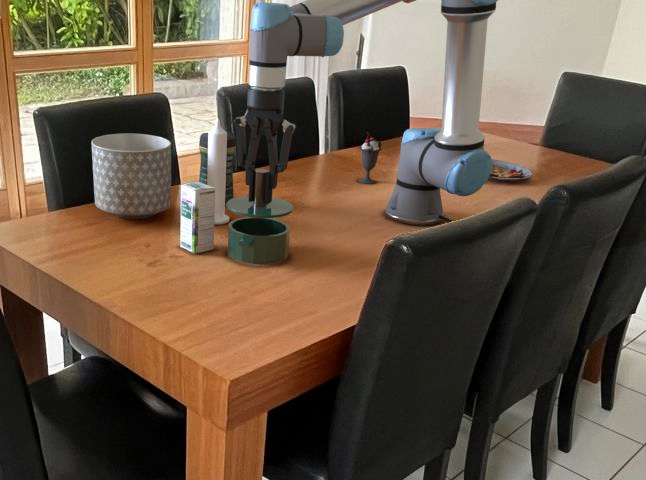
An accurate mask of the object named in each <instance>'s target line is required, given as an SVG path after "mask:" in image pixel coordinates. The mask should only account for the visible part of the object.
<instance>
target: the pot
mask: <svg viewBox="0 0 646 480" xmlns="http://www.w3.org/2000/svg"><path fill="white" fill-rule="evenodd" d="M227 225H228V227H227V256H228V257H230V258H231V259H233V260H235V261H238V262H241V263H244V264H250V265H271V264H278V263H281V262H283V261H285V260H286V259H287V258H288V257H289V249H290V235H291V228H290V225H289V224H287V223H286V222H284V221H281V220H279V219H278V218H253V217H247V216H244V217H239V218H237V219H233V220H231V221H229V222H228V223H227Z"/></svg>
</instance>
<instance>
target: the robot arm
mask: <svg viewBox="0 0 646 480" xmlns="http://www.w3.org/2000/svg"><path fill="white" fill-rule="evenodd" d="M416 1H417V0H303V1H301V2H300V3H296V4H293V5H291V6H290V5H289V4H288V3H280V2H264V1H263V2H262V1H261V2H256V3H255V4H254V5H253V6H252V9H251V16H250V17H251V18H250V26H249V30H250V31H249V33H250V35H249V60H248V61H249V63H248V78H247V84H248V86H249V87H248V89H247V98H246V99H247V100H246V101H247V103H246V106H247V107H246V111H245V113H244V115H243V116H237V117H235V118H234V119H233V120H232V124H233V126H234V128H235V135H236V136H235V142H236V159H237V161H236V164H237V166H238V167H239V168H240V167H241V168H243V169H244V170H245V177H244V179H245V180H244V182H245V185H246V186H248V196H249V201H248V202H253V196H254V177H255V170H256V169H257V168H255V167H256V165H255V164H256V161H257V160H256V159H257V154H258V149H259V145H260V139H261V137H262V136H265V138H266V142H267V153H268V165H269V167H268V168H269V173H267V174H266V188H265V204H267V205H268V204H269V203H270V202H272V197H273V190H275V189H277V186H278V178H279V174H280V173H284V172H285V171H286V170H287V169H288V165H289V164H288V163H289V157H290V151H291V145H292V138H293V134H294V133H295V131H296V129H297V124H295V123H291V122H290V121H288V120H286V116H285V113H284V107H285V93H286V92H285V90H284V89H283V88H285V87H286V80H287V79H286V77H287V64H288V63H287V62H288V57H321V58H325V57H334V56H336V55H337V54H339V52H340V51H341V49H342V47H343V44H344V38H345V30H344V26H345V25H348V24H350V23H352V22H355V21H357V20H359V19H360V20H361V19H362V18H364V17H367V16H369V15H371V14H374V13H377V12H379V11H381V10H384V9H386V8H388V7H391V6H393V5H396V4H399V3H401V2H403V3H405V4H410V3H413V2H416ZM498 1H499V0H440V3H441V5H440V14H441V15H442V16H443V17H444V18H445V20H446V22H447V24H446V41H445V57H444V58H445V60H444V76H443V77H444V78H443V95H442V110H441V111H442V113H441V127H412V128H411V127H410V128H407V129H406V130H405V131H404V132H403V135H402V140H401V143H400V151H399V158H398V159H399V160H398V166H397V174H396V182H395V187H394V188H393V190H392V192H391V195H390V197H389V199H388V201H387V203H386V206H385V210H384V215H385V216H386V217H387V218H388V219H390V220H392V221H395V222H398V223H401V224H406V225H413V226H431V225H436V224H439V223H441V222H442V221H444V222H447V223H449V222H451V221H454V220H453V219H450V218H448V217H445V216H444V209H443V202H442V195H441V194H442V193H441V190H443V191H446V192H447V193H448V194H451V195H456V196H459V197H468V196H472V195H474V194H476V193H477V192H478V191H480V190H481V189H482V188H483V186H484V185H485V184H487V182H488V180H489V179H490V178H489V176H490V174H491V171H492V159H493V158H492V156H491V155H490V153H489V152H488V151H487V150H485V135H484V133H483V132H482V131H481V130H480V119H481V118H480V117H481V106H482V105H481V104H482V93H483V82H484V81H483V79H484V69H485V68H484V67H485V56H486V46H487V45H486V44H487V33H488V21H489V18H490V17H491V16H492V15H493V14H494V13H495V12H496V9H497V2H498ZM247 124H248V126H249V128H250V130H251V131H250V137H249V138H250V140H249V147H248V150H247V133H246V127H247ZM281 127H282V132H283V135H282V141H281V147H280V154H278V141H277V139H278V131H279V130H280V128H281Z"/></svg>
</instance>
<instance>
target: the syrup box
mask: <svg viewBox="0 0 646 480" xmlns="http://www.w3.org/2000/svg"><path fill="white" fill-rule="evenodd" d="M214 216H215V188H214V187H211V186H208V185H206V184H203V183H201V182H199V181H195V182H188V183H183V184H181V185H180V241H179V242H180V245H179V246H180V248H181V249H184V250H187V251H188V252H190V253H192V254H194V255H196V254H199V253H204V252H208V251H212V250H214V248H215V247H214V246H215V224H214Z"/></svg>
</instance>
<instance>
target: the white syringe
mask: <svg viewBox="0 0 646 480" xmlns="http://www.w3.org/2000/svg"><path fill="white" fill-rule="evenodd" d="M226 131H227V130H225V129H224V128H223V127H222V125H221V120H220V118H219V117H217V118H216V121H215V124H214V126H213V127H212V128H211V129H210V130H208V132H207V133H208V178H207V185H208V186H211V187H214V188H215V216H214V225H225V224H228V223H230V219H231V218H230V216H229V215H228V214H226V213H225V212H226V210H225V209H226V203H225V186H226V153H227V132H226Z"/></svg>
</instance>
